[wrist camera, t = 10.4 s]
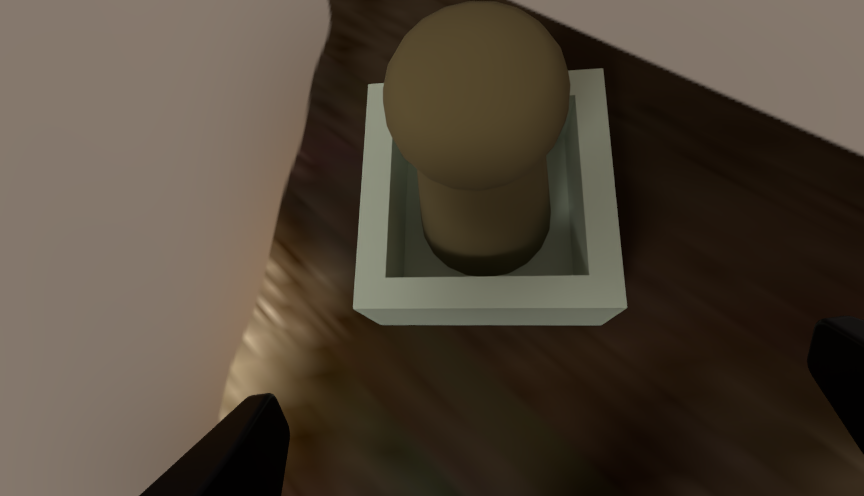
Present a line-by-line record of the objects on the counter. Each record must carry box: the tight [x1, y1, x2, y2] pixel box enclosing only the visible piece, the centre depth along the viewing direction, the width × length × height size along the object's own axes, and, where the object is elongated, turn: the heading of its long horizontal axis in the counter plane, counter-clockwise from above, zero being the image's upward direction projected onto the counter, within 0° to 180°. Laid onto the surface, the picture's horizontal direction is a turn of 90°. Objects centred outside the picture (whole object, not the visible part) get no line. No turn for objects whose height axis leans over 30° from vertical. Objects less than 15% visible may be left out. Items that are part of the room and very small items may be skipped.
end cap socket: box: [353, 68, 627, 325], centre depth 21 cm, size 10×10×4 cm
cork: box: [383, 1, 570, 277], centre depth 17 cm, size 6×6×11 cm
